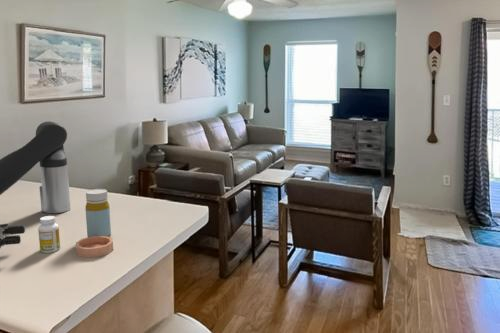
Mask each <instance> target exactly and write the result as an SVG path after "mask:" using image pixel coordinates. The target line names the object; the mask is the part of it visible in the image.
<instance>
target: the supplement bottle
mask: <svg viewBox="0 0 500 333" xmlns="http://www.w3.org/2000/svg"><path fill="white" fill-rule="evenodd" d="M56 220H57V219H56V216H55V215H47V216H42V217H40V218H39V223H40V225H39V226H38V227H37V230H38V240H39V241H38V242H39V250H40V252H42V253H48V254H49V253H54V252H55V253H56V252H58V251H59V250H60V249H61V240H60V227H59V224H58V223H56Z"/></svg>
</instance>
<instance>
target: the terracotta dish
mask: <svg viewBox="0 0 500 333" xmlns="http://www.w3.org/2000/svg"><path fill="white" fill-rule="evenodd" d="M75 250H76V251H75V253H76V255H77V256H79V257H81V258H96V257H102V256H105V255H108V254H110V253H112V252H113V251H114V241H113V238H112V237H111V236H110V237H107V236H93V237H88V236H87V237H85V238H82V239H80V240H78V241H76V242H75Z"/></svg>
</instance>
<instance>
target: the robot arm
mask: <svg viewBox="0 0 500 333" xmlns="http://www.w3.org/2000/svg"><path fill="white" fill-rule="evenodd" d="M67 138H68V132H67V129H66V127H65V126H63V125H61V124H60V123H57V122H54V121H44V122H42V123H40V124H39V125H38V126H37V127H36V131H35V136H34V137H32V139H30V141H29V142H27V143H26V144H25V145H23V146H22V147H20V148H19V149H16V150H14V151H12V152H11V153H8V154H7V155H5V156H4V157H2V158H0V196H2V194H3V193H5V192H7V191H8V190H9V189H10V188H11V187H12V186H14V185H15V184H16V183H17V182H18V181H20V180H21V179H22V178H23V177H24V176H25V175H26V174H28V172H30V171H31V170H32V169H33V168H34V167H35V166H36V165H37V164H39V169H40V170H39V171H40V179H41V185H40V186H39V189H38V190H39V197H40V209H41V212H44V213H46V214H61V213H65V212H68V211H70V210H71V197H70V195H71V194H70V186H69V185H70V184H69V183H70V182H69V173H68V172H69V169H68V158H67V156H66V153H65V147H64V144H65V143H66V140H67ZM25 230H26V227H25V226H24V225H12V226H11V225H9V224H8V223H2V224H1V223H0V249H1V248H3V247H4V246H5V245H6V246H8V245H9V246H10V245H18V244H19V245H20V244H21V234H25ZM19 234H20V235H19Z"/></svg>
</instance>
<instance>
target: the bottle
mask: <svg viewBox="0 0 500 333" xmlns="http://www.w3.org/2000/svg"><path fill="white" fill-rule="evenodd" d="M85 197H86V198H85V200H86V203H85V218H86V219H85V221H86V236H87V237H93V236H107V237H110V238H111V235H112V229H111V227H112V225H111V214H110V213H111V211H110V210H111V209H110V203H109V201H108V190H107V189H104V188H95V189H89V190H87V191H85Z"/></svg>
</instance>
